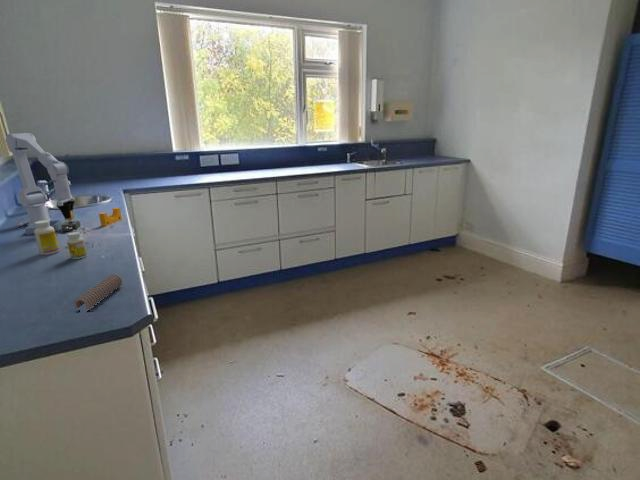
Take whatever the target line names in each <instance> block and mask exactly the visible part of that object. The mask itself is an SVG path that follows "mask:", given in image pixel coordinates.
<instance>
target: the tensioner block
mask: <svg viewBox="0 0 640 480" xmlns="http://www.w3.org/2000/svg"><path fill="white" fill-rule="evenodd" d="M80 227H81V221H80V220H72V223H69V222H68V221H65V222H63V224H62V225H61V232H62V233H63V234H65V233H68V234H69V233H72V232H74V230H78V228H80Z"/></svg>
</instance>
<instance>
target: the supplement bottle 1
mask: <svg viewBox="0 0 640 480" xmlns="http://www.w3.org/2000/svg"><path fill="white" fill-rule="evenodd" d="M35 226H36V227H37V228H36V229H35V230H34V234H33V235H34V237H35V241H36V244H37V249H38V252H39V254H40V255H42V256H49V255H54V254H57V253H58V252H60V246H59V242H58V238H57V235H56V232H55V230H54V228H53V227H51V226H50V222H49V220H42V221H37V222H35Z"/></svg>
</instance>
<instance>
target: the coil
mask: <svg viewBox="0 0 640 480" xmlns="http://www.w3.org/2000/svg"><path fill="white" fill-rule="evenodd" d="M120 285H121V286H122V285H123V278H122V276H120V275H118V274H116V273H112V274H110V275H108V277H105V278H104V279H103V280H102V281H100V282H99V283H97V284H96V285H95V286H93V287H91V288H90V289H89V290H87V291H85V292H84V293H83V294H82V295H80V296H79V297H77V298H75V300H74V301H73V305H74V308H75V309H76V308H79V307H80V306H82V305H83V304H84V303H85V304H86V307H87V308H86V309H90V308H91V307H92V306H94V304H96V303H97V302H99V301H100V300H101V299H103V298H105V297H106V296H107V295H109V294H110V293H111V292H113V291H114V290H115V289H116V288H118V287H119V288H121V287H120ZM119 288H118V289H119ZM115 291H116V290H115ZM115 291H114V292H115ZM114 292H113V293H114ZM111 294H112V293H111ZM111 294H110V295H111ZM110 295H109V296H110ZM106 298H107V297H106ZM106 298H105V299H106Z"/></svg>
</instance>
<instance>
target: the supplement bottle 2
mask: <svg viewBox="0 0 640 480" xmlns="http://www.w3.org/2000/svg"><path fill="white" fill-rule="evenodd" d="M67 238H68V239H67V240H66V241H67V242H66V243H67V247H68V251H69V255H70V258H71V259H72V260H80V258H81V259H85V258H86V257H88V252H87V248H86V244H85V240H84V238H83V237H82V236H81V233H80V231H72V232H68V234H67Z"/></svg>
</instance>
